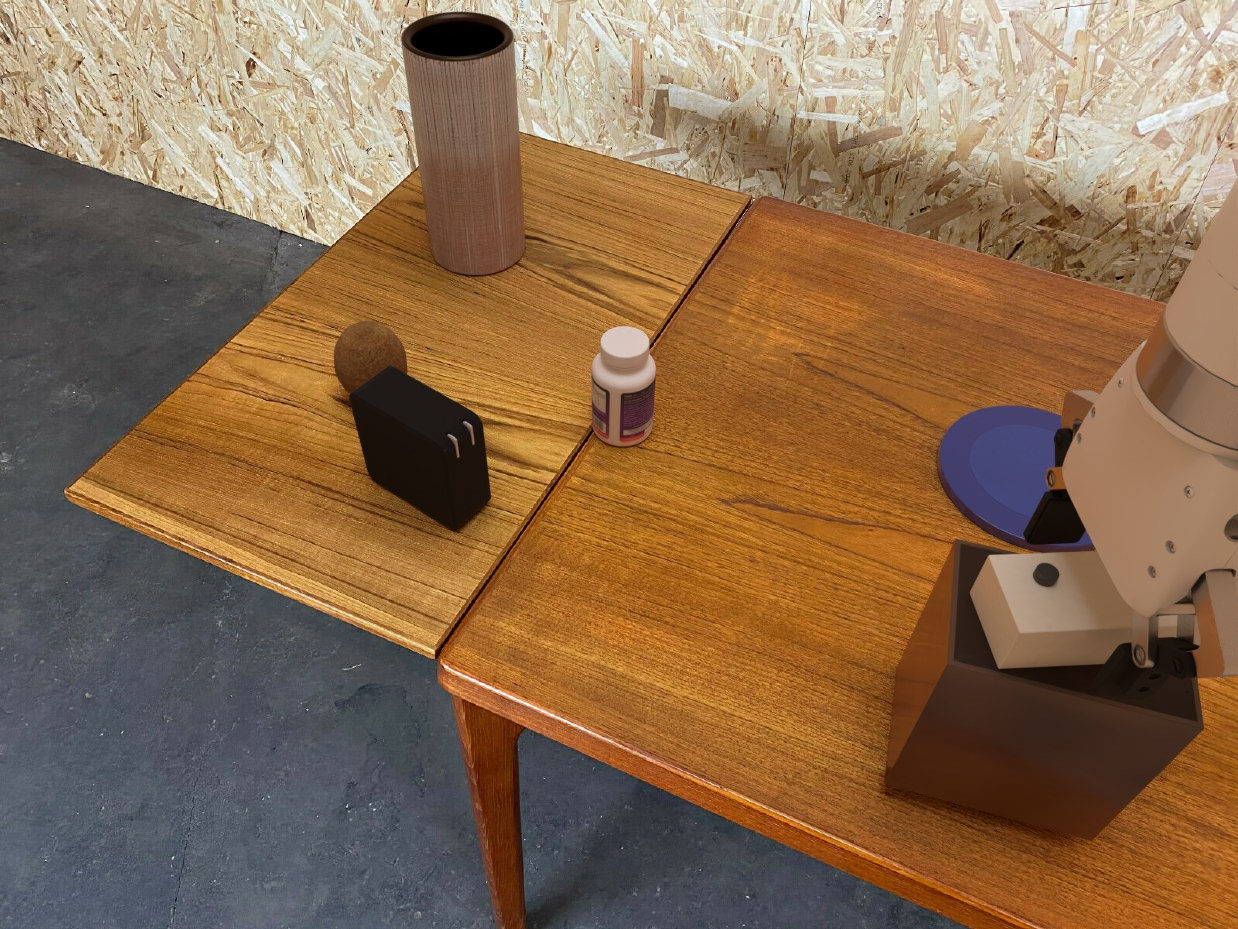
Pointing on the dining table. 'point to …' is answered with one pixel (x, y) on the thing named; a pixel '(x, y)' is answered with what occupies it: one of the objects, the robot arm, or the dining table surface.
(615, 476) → the dining table surface
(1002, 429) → the plate
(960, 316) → the dining table surface
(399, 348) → the fruit
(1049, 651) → the controller
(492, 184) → the planter
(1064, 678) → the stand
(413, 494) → the electronic device
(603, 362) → the pill bottle
